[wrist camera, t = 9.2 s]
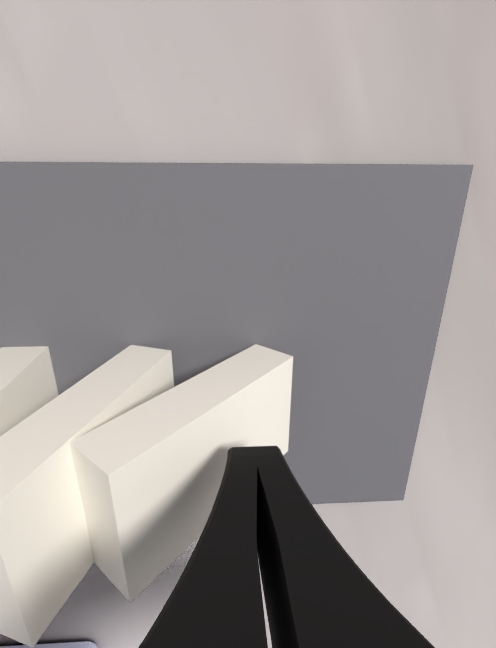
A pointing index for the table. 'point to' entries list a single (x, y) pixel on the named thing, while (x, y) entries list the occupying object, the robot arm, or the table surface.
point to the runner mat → (247, 288)
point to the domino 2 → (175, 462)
